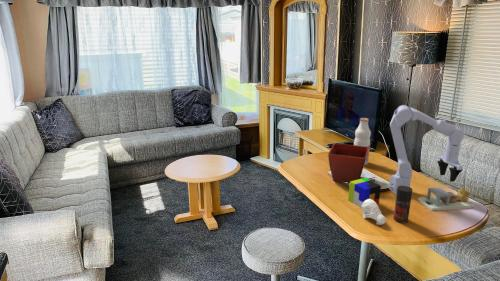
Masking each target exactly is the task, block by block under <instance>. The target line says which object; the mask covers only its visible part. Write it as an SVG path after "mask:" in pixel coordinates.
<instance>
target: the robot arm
mask: <svg viewBox="0 0 500 281" xmlns="http://www.w3.org/2000/svg"><path fill="white" fill-rule="evenodd" d="M410 120H411V121H416V120H417V121H420V122H422V123H424V124H426V125H430V126H431V127H432V128H433V131H436V132H437V133H439V134H441V135H444V137H445V136H446V137H448V139H447V142H446V146H445V148H446V149H445V153H444V155H443V154H442V155H441V154H440V155H439V156H438V160H437V165H438V169H439V175H440V176H445V175H446V172H447V170H448V167H449V166H452V167H449V181H450V182H455V181H456V180H457V178H458V177H459V175H460V173H461V172H463V165H462V164H460V160H458V159H459V155H460V149H461V143H462V140H464V138H465V134H464V131H463V130H462V129H461V128H460V127H458V126H457V125H455V124H453V125H452V124H451V123H448V122H447V120H446V119H444V118H443V119H435V118H432V116H429V115H428V114H426V113H423V112H422V111H420V110H419V109H416V108H414V107H409V106H408V105H406V104H401V105H399V106H398V107H397V108H396V109H395V110H394V112H393V115H392V118H391V121H390V123H389V127H390V132H391V136H392V140H393V144H394V148H395V149H394V150H395V152H396V157H397V165H396V166H397V171H396V173H395V174H392V175H391V176H390V177H389V183H388V184H389V185H388V187H389V189H388V190H390V191H391V192H392V193H393V194H394V195H397V188H398V186H408V187H410V188H411V183H412V182H411V181H412V175H413V168H412V165H411V162H410V161H409V160H408V155H407V151H406V147H405V143H404V138H403V135H402V134H403V133H402V130H401V128H402V127H403V125H404V124H406V123H408V122H409V121H410ZM413 193H414V192H413V191H412V195H413Z"/></svg>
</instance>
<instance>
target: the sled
mask: <svg viewBox="0 0 500 281" xmlns="http://www.w3.org/2000/svg"><path fill="white" fill-rule="evenodd" d="M447 192H448V193H449V194H451V195H450V201H449V203H456V202H457V201H461V202H469V199H470V194H471V192H470V191H468V190H467V189H465V188H462V189H461V188H459V189H457V193H456V194H455V193H454V192H452V191H447ZM446 198H447V197H440V200H441V201H443V202H444V203H446Z"/></svg>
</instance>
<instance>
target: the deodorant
mask: <svg viewBox="0 0 500 281" xmlns="http://www.w3.org/2000/svg"><path fill="white" fill-rule="evenodd" d="M412 192H413V188H412V187H411V186H410V187H408V186H398V188H397V195H396V194H395V195H396V196H395V205H394V210H393V220H394V222H396V223H399V224H406V223H408V221H409V217H410V216H409V215H410V210H411V209H410V208H411V203H412V196H413V194H412Z"/></svg>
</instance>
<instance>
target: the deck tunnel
mask: <svg viewBox="0 0 500 281" xmlns="http://www.w3.org/2000/svg"><path fill="white" fill-rule="evenodd" d="M448 192H449V191H446V190H444V189H443V188H441V187H440V186H439V187H438V186H437V187H428V188H427V194H426V196H423V197H418V198H417V201H418V202H420V203H421V204H422V205H423V206H425V207H426V208H428V210H430V211H431V212H432V211H433V212H435V211H446V210H458V209H461V210H462V209H471V208H474V204H473V203H470V202H469V201H467V202H461V201H457V202H456V203H449V201H450V195H451V194H449V193H448ZM431 194H433V195H434V196H431ZM440 197H447V198H446V203H444V202H443V201H441V200H440Z"/></svg>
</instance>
